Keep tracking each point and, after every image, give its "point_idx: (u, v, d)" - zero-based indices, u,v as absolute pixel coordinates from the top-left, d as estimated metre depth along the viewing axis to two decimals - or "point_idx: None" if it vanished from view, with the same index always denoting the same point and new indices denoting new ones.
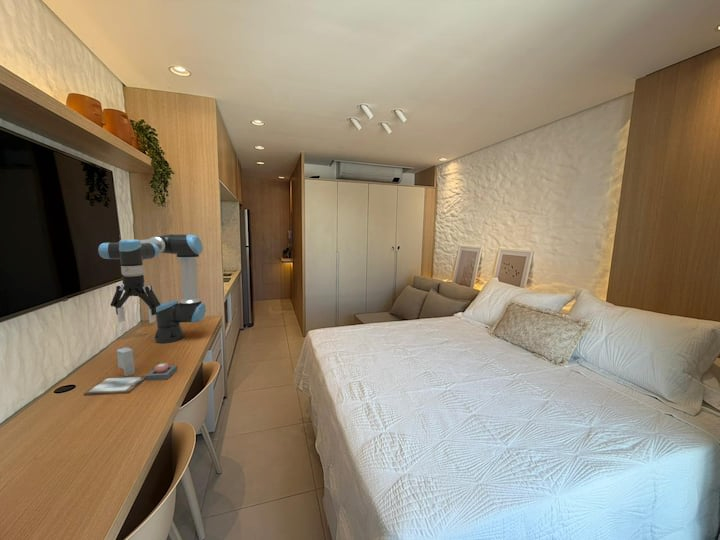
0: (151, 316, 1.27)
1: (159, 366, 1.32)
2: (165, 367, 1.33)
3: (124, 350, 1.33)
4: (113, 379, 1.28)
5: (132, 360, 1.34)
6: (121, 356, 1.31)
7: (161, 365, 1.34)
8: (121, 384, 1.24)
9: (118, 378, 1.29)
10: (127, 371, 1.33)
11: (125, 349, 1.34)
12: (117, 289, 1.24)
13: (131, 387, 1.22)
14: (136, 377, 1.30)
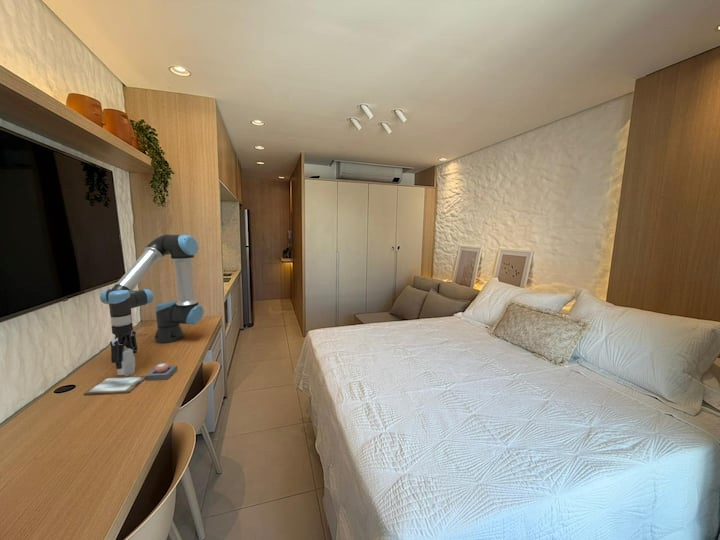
0: (118, 369, 1.31)
1: (159, 366, 1.32)
2: (165, 367, 1.33)
3: (124, 350, 1.33)
4: (113, 379, 1.28)
5: (132, 360, 1.34)
6: None
7: (161, 365, 1.34)
8: (121, 384, 1.24)
9: (118, 378, 1.29)
10: (127, 371, 1.33)
11: (125, 349, 1.34)
12: None
13: (131, 387, 1.22)
14: (136, 377, 1.30)
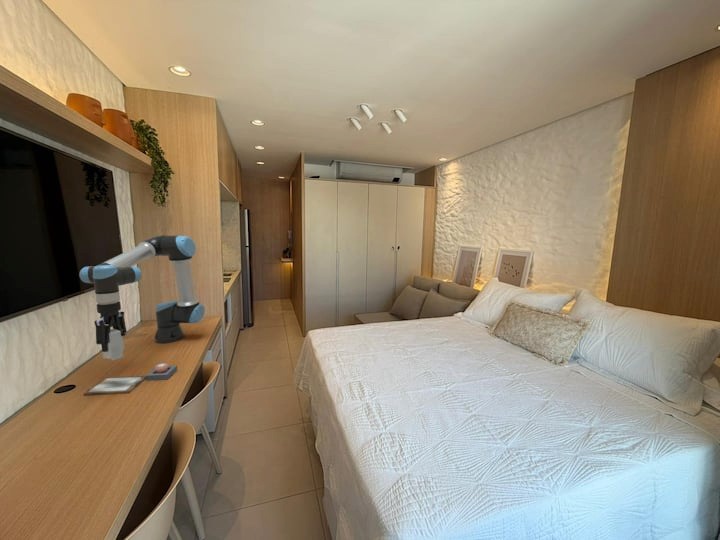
0: (104, 352, 1.18)
1: (159, 366, 1.32)
2: (165, 367, 1.33)
3: (111, 331, 1.20)
4: (113, 379, 1.28)
5: (120, 342, 1.22)
6: None
7: (161, 365, 1.34)
8: (121, 384, 1.24)
9: (118, 378, 1.29)
10: (114, 354, 1.20)
11: (112, 330, 1.22)
12: None
13: (131, 387, 1.22)
14: (136, 377, 1.30)
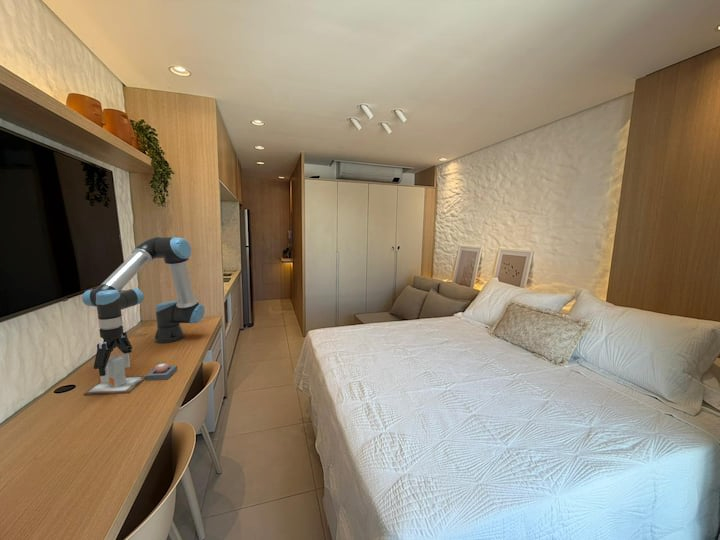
0: (101, 376, 1.17)
1: (159, 366, 1.32)
2: (165, 367, 1.33)
3: (114, 358, 1.22)
4: None
5: (123, 369, 1.24)
6: (111, 365, 1.21)
7: (161, 365, 1.34)
8: None
9: None
10: (117, 381, 1.22)
11: (115, 357, 1.23)
12: None
13: (131, 387, 1.22)
14: (136, 377, 1.30)
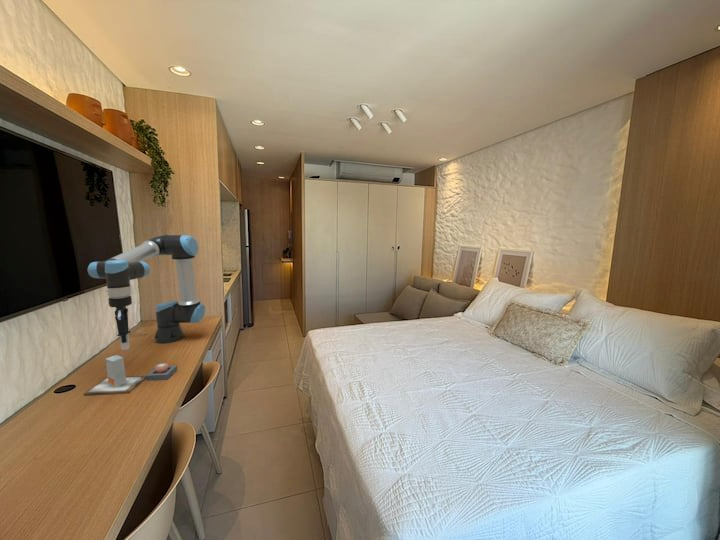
0: (122, 343, 1.23)
1: (159, 366, 1.32)
2: (165, 367, 1.33)
3: (114, 358, 1.22)
4: None
5: (123, 369, 1.24)
6: (111, 365, 1.21)
7: (161, 365, 1.34)
8: None
9: None
10: (117, 381, 1.22)
11: (115, 357, 1.23)
12: None
13: (131, 387, 1.22)
14: (136, 377, 1.30)
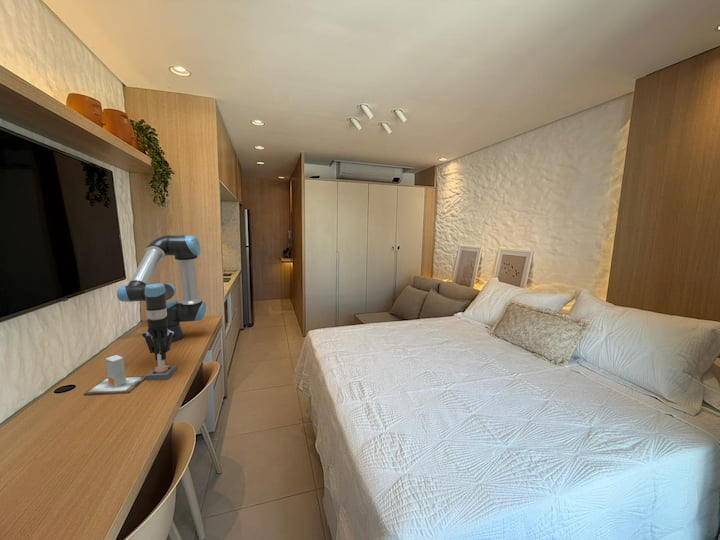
0: (161, 361, 1.32)
1: (159, 368, 1.32)
2: (165, 369, 1.33)
3: (114, 358, 1.22)
4: None
5: (123, 369, 1.24)
6: (111, 365, 1.21)
7: None
8: None
9: None
10: (117, 381, 1.22)
11: (115, 357, 1.23)
12: (144, 336, 1.30)
13: (131, 387, 1.22)
14: (136, 377, 1.30)
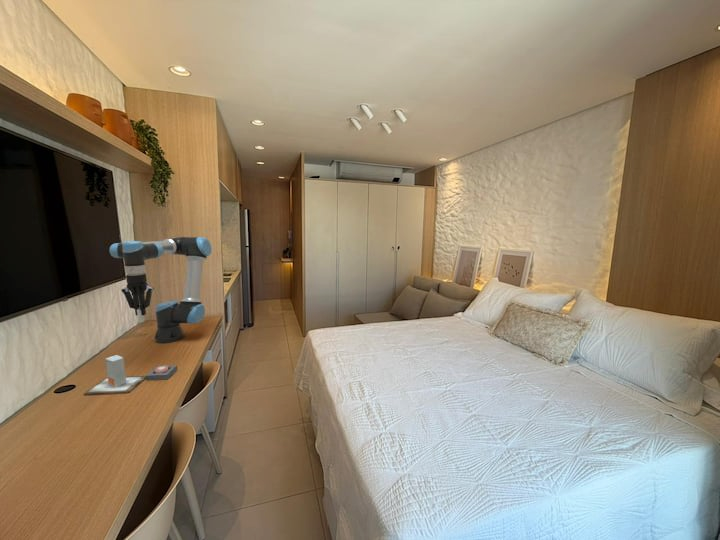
0: (141, 316, 1.38)
1: (159, 369, 1.32)
2: (165, 370, 1.33)
3: (114, 358, 1.22)
4: None
5: (123, 369, 1.24)
6: (111, 365, 1.21)
7: (161, 368, 1.34)
8: None
9: None
10: (117, 381, 1.22)
11: (115, 357, 1.23)
12: (124, 292, 1.34)
13: (131, 387, 1.22)
14: (136, 377, 1.30)
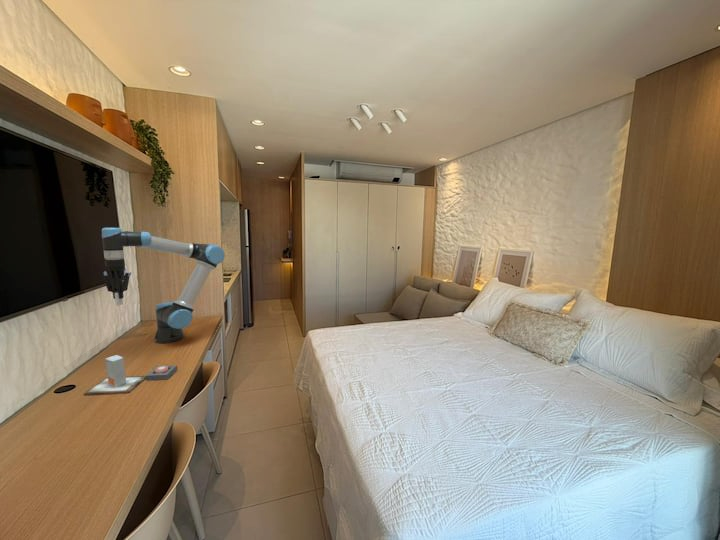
0: (119, 299, 1.44)
1: (159, 369, 1.32)
2: (165, 370, 1.33)
3: (114, 358, 1.22)
4: None
5: (123, 369, 1.24)
6: (111, 365, 1.21)
7: (161, 368, 1.34)
8: None
9: None
10: (117, 381, 1.22)
11: (115, 357, 1.23)
12: (102, 275, 1.41)
13: (131, 387, 1.22)
14: (136, 377, 1.30)
